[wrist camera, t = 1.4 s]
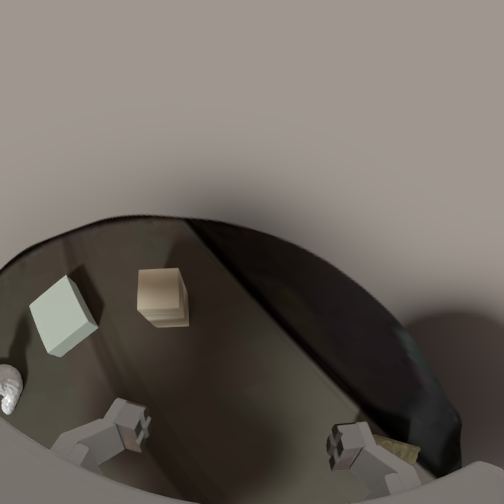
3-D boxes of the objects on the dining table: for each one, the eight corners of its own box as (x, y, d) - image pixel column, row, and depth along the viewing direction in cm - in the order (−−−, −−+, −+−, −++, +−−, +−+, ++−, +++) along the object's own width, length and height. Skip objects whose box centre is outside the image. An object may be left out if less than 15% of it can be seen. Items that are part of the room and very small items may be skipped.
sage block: (61, 357, 32) (47, 353, 29) (41, 313, 35) (29, 305, 32) (99, 328, 36) (88, 321, 32) (76, 284, 38) (66, 275, 35)
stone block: (354, 428, 31) (370, 432, 27) (407, 443, 30) (425, 446, 25) (337, 461, 29) (352, 469, 24) (393, 474, 27) (410, 479, 23)
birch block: (189, 326, 37) (178, 308, 29) (155, 327, 37) (137, 309, 29) (187, 293, 40) (178, 267, 32) (155, 295, 39) (139, 270, 31)
